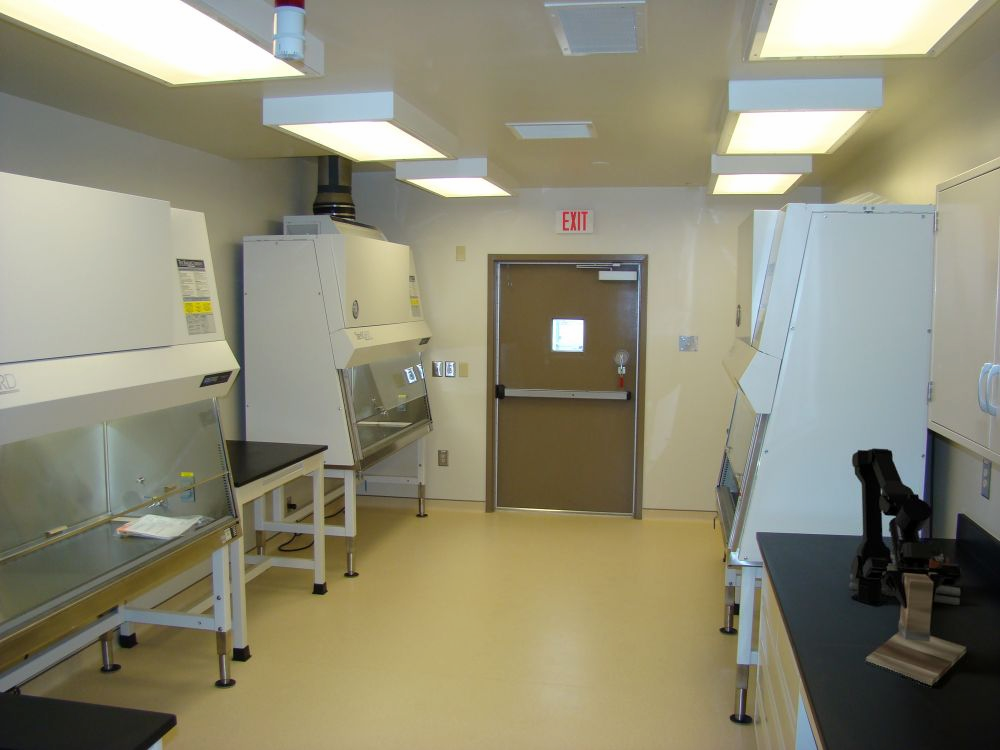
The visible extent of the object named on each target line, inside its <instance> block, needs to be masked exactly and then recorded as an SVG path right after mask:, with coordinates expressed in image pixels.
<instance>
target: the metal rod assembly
mask: <svg viewBox="0 0 1000 750" xmlns="http://www.w3.org/2000/svg"><path fill="white" fill-rule="evenodd" d="M849 579H850V581H851V582H850V583H849V584H848V585H849V588H850V590H853V591H857V582H858V579H855V578H854V576H853V575H852V573H850V575H849ZM902 584H903V580H902ZM935 593H941V594H946V596H945V595H938V594H935V597H934V603H939V604H947V605H953V606H959V605H960V596H961V588H960V587H953V586H941V585H940V587H938V588H937V589H936V592H935ZM881 595H885V596H887V595H889V596H888V597H894V596H895V594H894V593H893V592H892V591H891V589H890V588H889V587H888V586H887V585H886V584H885V583H882V590H881ZM895 597H896V596H895Z"/></svg>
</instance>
